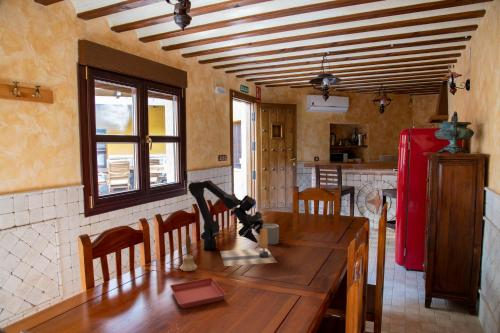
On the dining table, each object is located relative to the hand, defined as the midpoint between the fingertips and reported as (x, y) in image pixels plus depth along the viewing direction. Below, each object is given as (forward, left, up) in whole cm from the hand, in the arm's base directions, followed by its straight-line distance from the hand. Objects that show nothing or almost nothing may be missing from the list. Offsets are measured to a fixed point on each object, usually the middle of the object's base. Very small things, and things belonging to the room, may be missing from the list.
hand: (261, 240), depth 181 cm
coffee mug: (+13, +27, -10) cm, 31 cm away
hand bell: (-37, -7, -10) cm, 39 cm away
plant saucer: (-34, -39, -10) cm, 53 cm away
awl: (+1, -1, -8) cm, 8 cm away
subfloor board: (-7, +1, -9) cm, 12 cm away
